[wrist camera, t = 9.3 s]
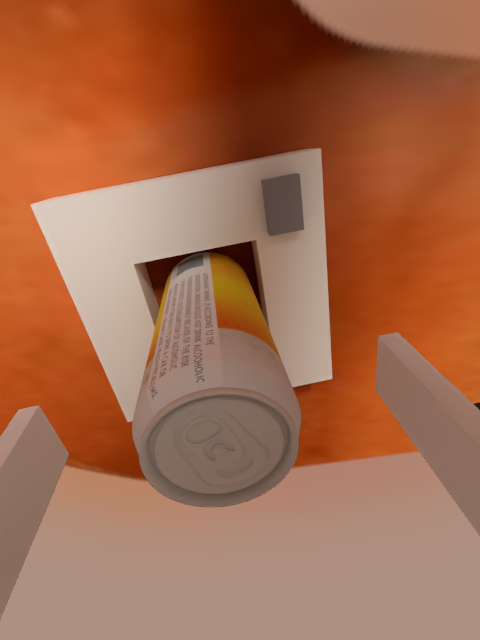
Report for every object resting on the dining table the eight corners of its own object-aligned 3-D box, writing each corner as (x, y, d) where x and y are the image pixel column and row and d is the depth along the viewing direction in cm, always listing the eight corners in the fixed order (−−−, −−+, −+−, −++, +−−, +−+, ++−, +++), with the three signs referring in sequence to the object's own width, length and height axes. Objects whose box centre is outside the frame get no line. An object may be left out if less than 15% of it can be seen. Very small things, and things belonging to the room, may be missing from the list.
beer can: (196, 339, 26) (195, 535, 13) (148, 277, 23) (83, 443, 10) (263, 301, 25) (337, 467, 12) (221, 232, 22) (256, 346, 9)
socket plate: (52, 197, 20) (23, 206, 17) (305, 148, 21) (326, 148, 17) (134, 396, 28) (125, 430, 24) (319, 357, 28) (336, 385, 25)
